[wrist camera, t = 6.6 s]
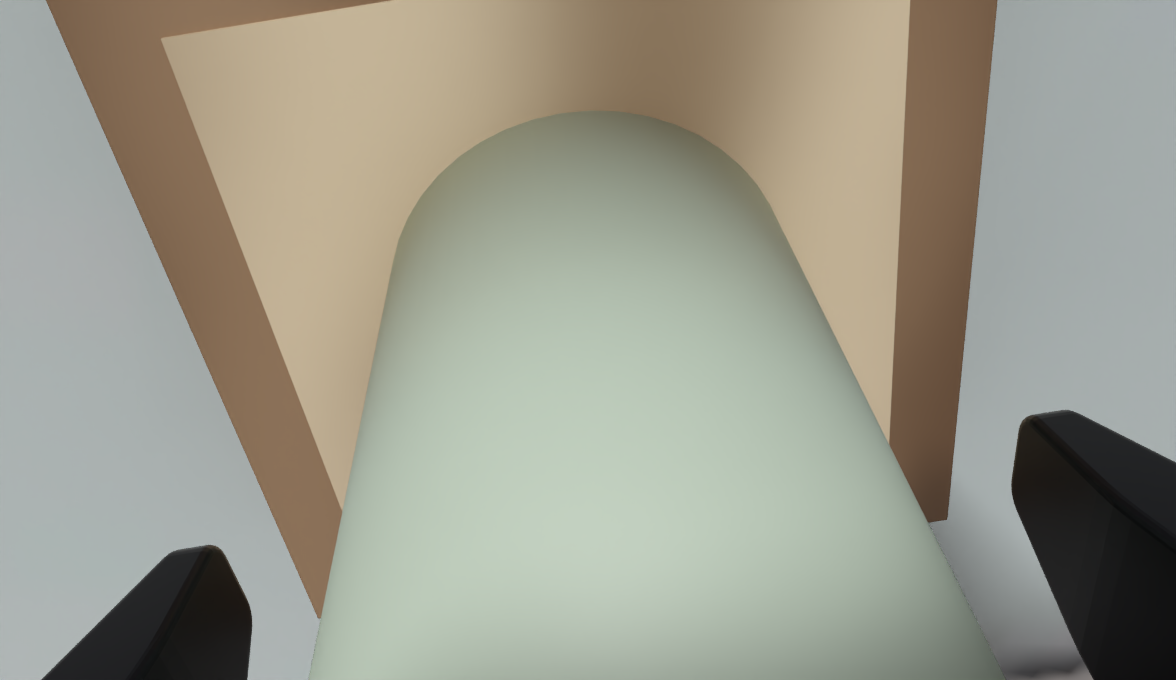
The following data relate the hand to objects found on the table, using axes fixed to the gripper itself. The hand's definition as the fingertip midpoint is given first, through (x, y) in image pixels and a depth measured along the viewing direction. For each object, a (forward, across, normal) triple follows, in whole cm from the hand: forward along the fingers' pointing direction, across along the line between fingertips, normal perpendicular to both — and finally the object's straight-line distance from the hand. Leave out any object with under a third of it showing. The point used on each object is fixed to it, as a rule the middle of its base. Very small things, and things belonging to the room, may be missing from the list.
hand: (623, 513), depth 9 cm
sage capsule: (+4, 0, 0) cm, 4 cm away
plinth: (+6, 0, 0) cm, 6 cm away
